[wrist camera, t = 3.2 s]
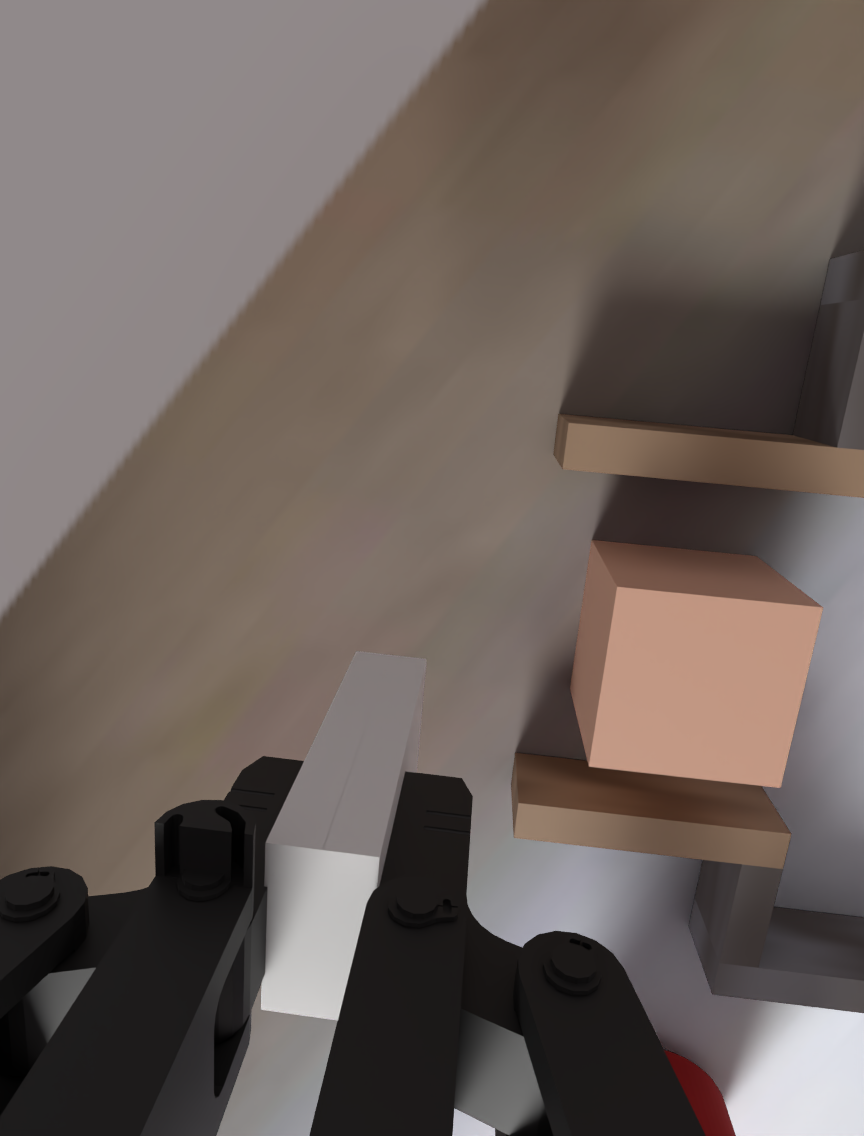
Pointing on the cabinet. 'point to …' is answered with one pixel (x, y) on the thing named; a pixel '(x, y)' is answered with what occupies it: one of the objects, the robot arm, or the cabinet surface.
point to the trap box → (705, 807)
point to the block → (690, 663)
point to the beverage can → (702, 1096)
